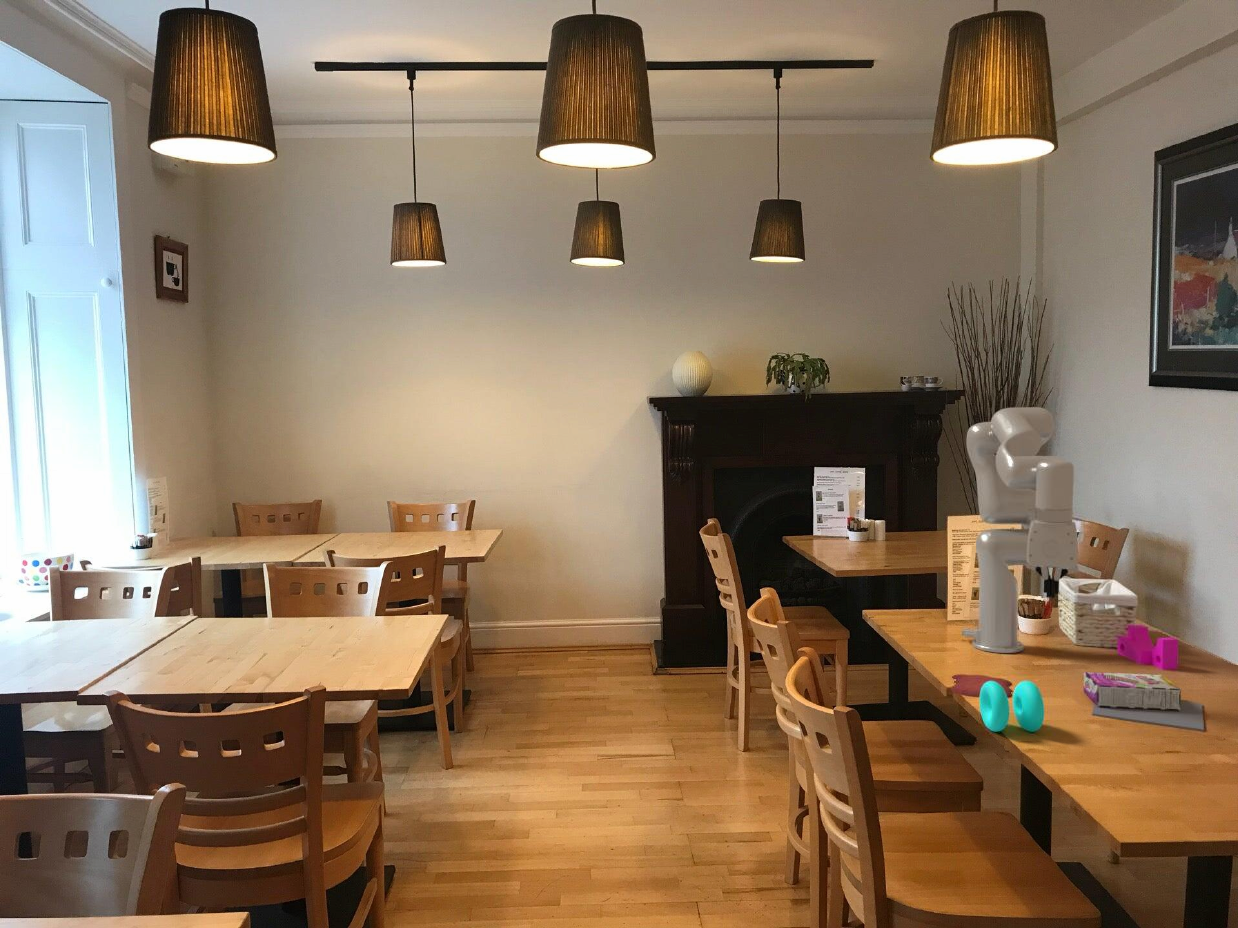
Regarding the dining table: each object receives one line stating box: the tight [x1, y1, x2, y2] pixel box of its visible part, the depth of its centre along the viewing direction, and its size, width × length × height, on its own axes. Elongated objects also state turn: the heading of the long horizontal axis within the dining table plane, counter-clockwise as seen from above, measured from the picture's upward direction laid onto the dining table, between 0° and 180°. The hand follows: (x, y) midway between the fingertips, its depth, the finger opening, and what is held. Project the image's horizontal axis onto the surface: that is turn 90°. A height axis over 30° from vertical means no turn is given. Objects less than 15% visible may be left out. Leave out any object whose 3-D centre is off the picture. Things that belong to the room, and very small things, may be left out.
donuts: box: [978, 680, 1045, 733], centre depth 188 cm, size 10×10×10 cm
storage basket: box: [1057, 577, 1139, 649], centre depth 258 cm, size 24×16×15 cm
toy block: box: [1117, 624, 1179, 671], centre depth 235 cm, size 15×6×8 cm, turn 2°
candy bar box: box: [1083, 671, 1182, 711], centre depth 203 cm, size 11×5×16 cm
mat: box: [1091, 700, 1205, 732], centre depth 199 cm, size 20×18×1 cm
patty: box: [950, 673, 1014, 699], centre depth 215 cm, size 18×14×2 cm
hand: (1051, 596), depth 209 cm, fingers closed
